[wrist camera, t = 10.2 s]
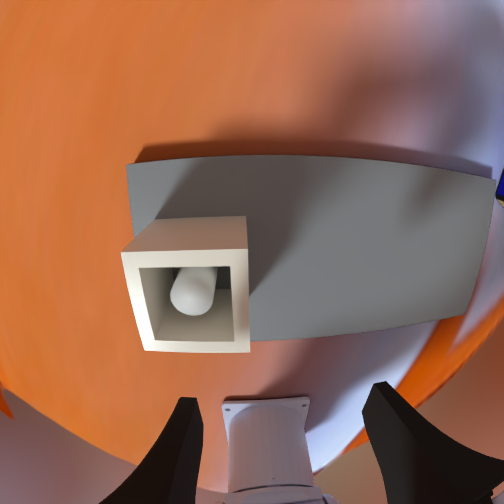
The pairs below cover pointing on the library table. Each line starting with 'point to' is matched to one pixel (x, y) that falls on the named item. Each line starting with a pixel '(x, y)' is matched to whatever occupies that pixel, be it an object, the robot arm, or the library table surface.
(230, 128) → the library table surface
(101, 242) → the library table surface
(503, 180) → the puzzle cube
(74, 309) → the library table surface
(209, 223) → the collar
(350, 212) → the base board
